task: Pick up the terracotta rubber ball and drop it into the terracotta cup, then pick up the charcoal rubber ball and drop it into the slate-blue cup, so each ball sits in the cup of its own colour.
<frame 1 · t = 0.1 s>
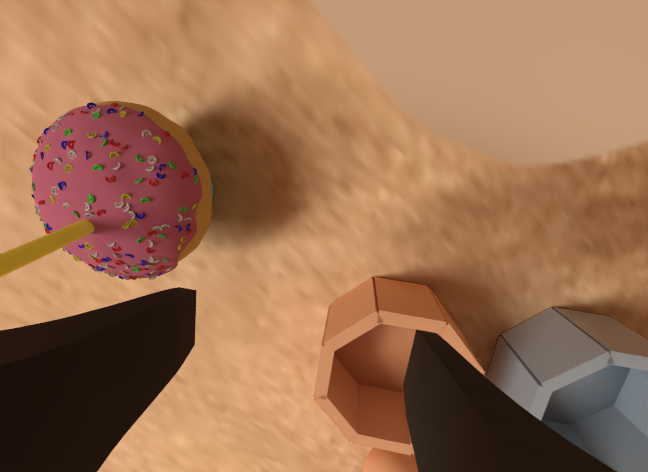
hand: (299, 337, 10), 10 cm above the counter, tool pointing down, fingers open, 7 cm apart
cupcake: (177, 185, 20), on the counter
slate cup: (559, 370, 20), on the counter
terracotta cup: (388, 339, 21), on the counter
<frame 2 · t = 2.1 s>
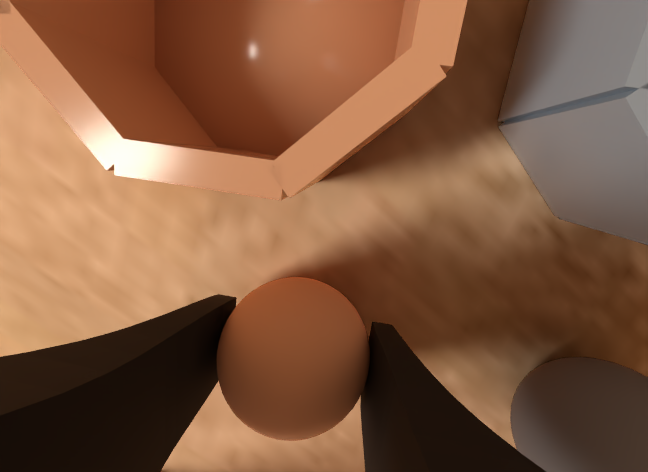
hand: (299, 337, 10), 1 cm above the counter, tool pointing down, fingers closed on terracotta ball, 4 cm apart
terracotta ball: (295, 351, 9), point 2 cm above the counter, touching gripper
terracotta cup: (277, 32, 9), on the counter
charcoal ball: (600, 440, 9), point 2 cm above the counter
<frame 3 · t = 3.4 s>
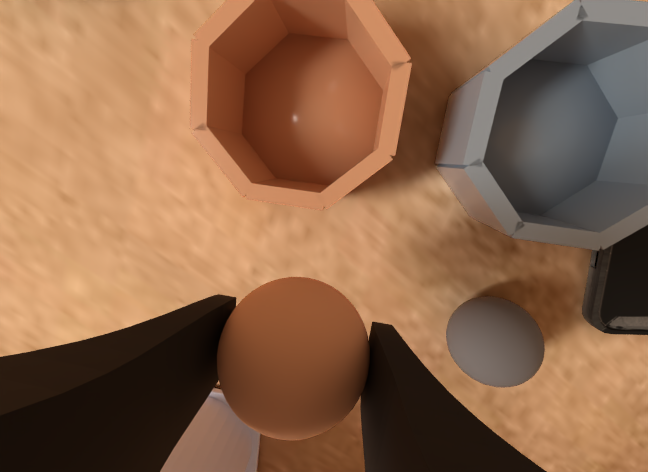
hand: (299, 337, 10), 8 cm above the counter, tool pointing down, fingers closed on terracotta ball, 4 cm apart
slate cup: (526, 141, 16), on the counter
terracotta ball: (295, 351, 9), point 9 cm above the counter, touching gripper
terracotta cup: (311, 114, 16), on the counter
charcoal ball: (492, 339, 16), point 2 cm above the counter
when the fingers open (6 cm above the counter, at t = 4.6 s): terracotta ball drops 4 cm, resting on terracotta cup.
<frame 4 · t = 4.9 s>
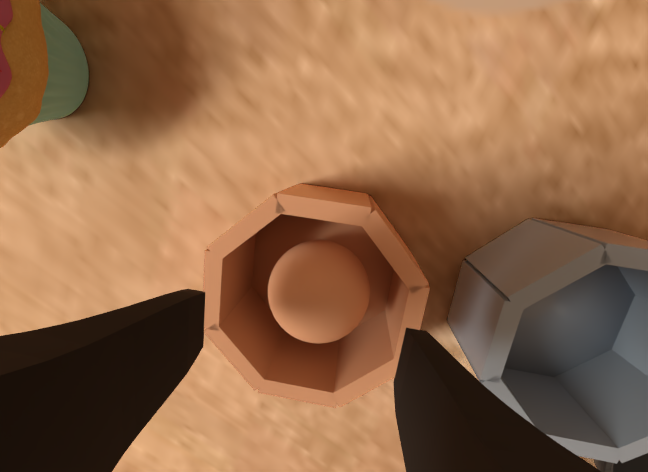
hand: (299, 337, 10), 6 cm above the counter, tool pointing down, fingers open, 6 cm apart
cupcake: (46, 67, 15), on the counter
slate cup: (540, 305, 15), on the counter
terracotta ball: (319, 290, 13), point 3 cm above the counter, tilted 6°, touching terracotta cup
terracotta cup: (322, 268, 16), on the counter
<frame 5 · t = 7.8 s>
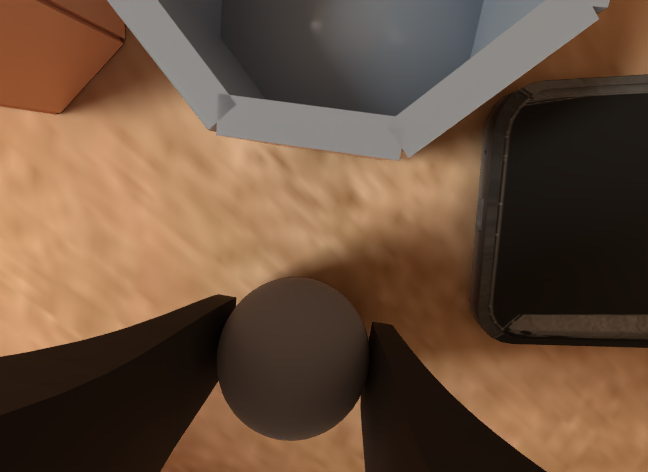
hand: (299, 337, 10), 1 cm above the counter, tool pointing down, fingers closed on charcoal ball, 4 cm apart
slate cup: (349, 0, 9), on the counter
charcoal ball: (295, 351, 9), point 2 cm above the counter, touching gripper
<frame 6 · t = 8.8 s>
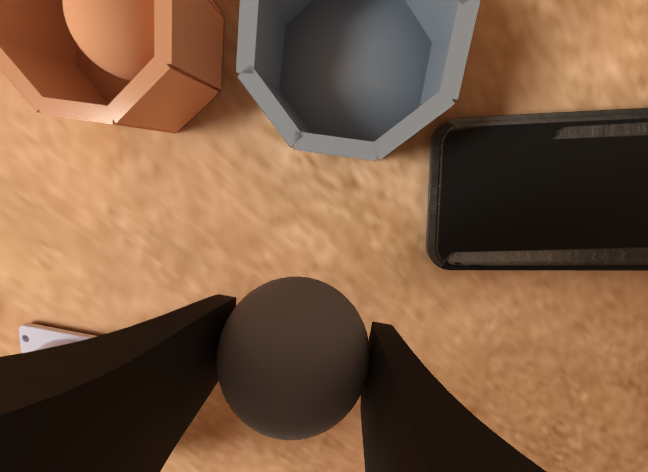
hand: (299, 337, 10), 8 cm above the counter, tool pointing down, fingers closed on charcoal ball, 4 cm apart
slate cup: (352, 70, 16), on the counter
terracotta ball: (128, 25, 14), point 3 cm above the counter, tilted 30°, touching terracotta cup
phone: (572, 191, 16), on the counter
terracotta cup: (145, 45, 16), on the counter
charcoal ball: (294, 351, 9), point 9 cm above the counter, touching gripper
when the fingers open (6 cm above the counter, at t = 10.2 s): charcoal ball drops 4 cm, resting on slate cup.
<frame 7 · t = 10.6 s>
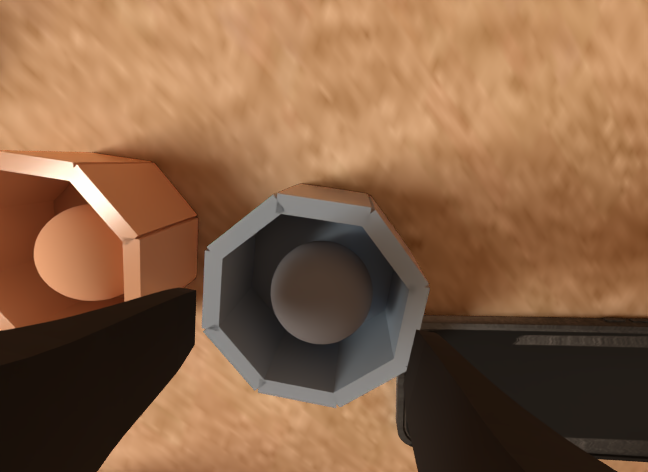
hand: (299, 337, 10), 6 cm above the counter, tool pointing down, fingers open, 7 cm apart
slate cup: (322, 268, 16), on the counter
terracotta ball: (99, 251, 14), point 3 cm above the counter, tilted 26°, touching terracotta cup
phone: (535, 375, 17), on the counter
terracotta cup: (123, 235, 17), on the counter
charcoal ball: (321, 290, 13), point 3 cm above the counter, tilted 10°, touching slate cup
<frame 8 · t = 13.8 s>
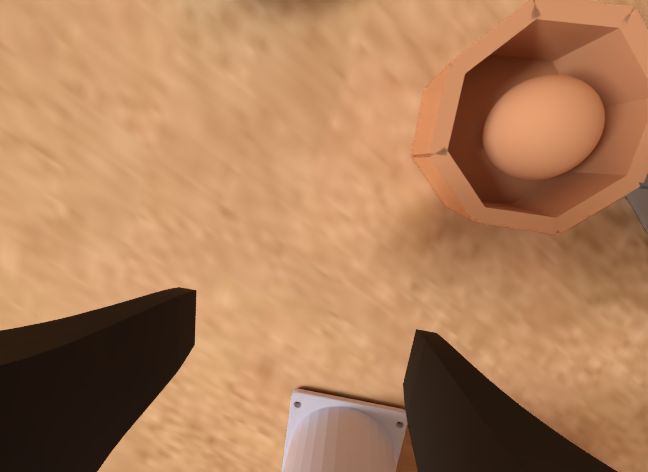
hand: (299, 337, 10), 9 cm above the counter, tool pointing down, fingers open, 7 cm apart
terracotta ball: (538, 130, 14), point 3 cm above the counter, tilted 19°, touching terracotta cup
terracotta cup: (496, 133, 16), on the counter
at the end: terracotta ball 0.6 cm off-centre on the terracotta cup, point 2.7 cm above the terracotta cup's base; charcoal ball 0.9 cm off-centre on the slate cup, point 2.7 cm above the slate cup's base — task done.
